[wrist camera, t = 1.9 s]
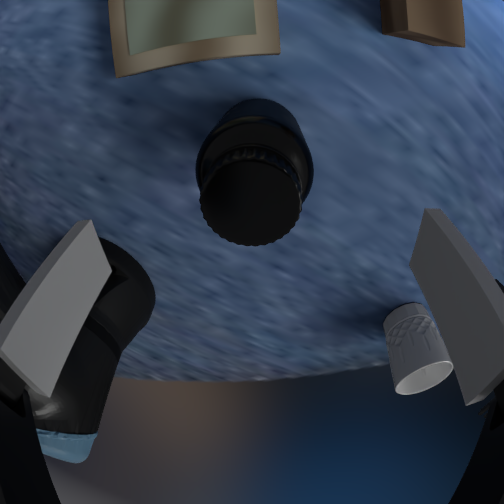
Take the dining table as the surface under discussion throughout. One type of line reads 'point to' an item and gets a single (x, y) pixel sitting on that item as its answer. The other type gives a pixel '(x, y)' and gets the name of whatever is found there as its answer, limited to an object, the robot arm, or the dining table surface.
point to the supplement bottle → (254, 173)
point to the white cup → (415, 349)
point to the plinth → (189, 32)
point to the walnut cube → (424, 21)
